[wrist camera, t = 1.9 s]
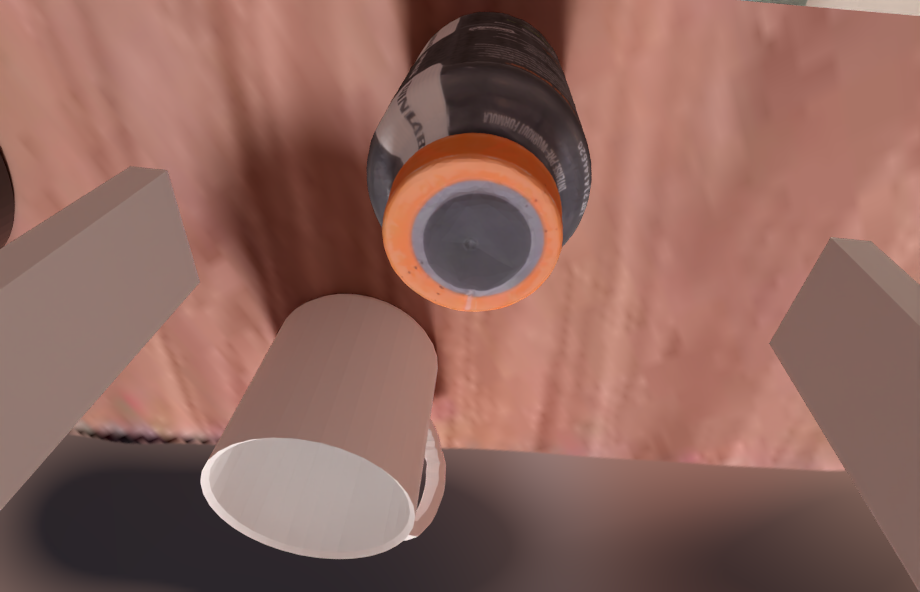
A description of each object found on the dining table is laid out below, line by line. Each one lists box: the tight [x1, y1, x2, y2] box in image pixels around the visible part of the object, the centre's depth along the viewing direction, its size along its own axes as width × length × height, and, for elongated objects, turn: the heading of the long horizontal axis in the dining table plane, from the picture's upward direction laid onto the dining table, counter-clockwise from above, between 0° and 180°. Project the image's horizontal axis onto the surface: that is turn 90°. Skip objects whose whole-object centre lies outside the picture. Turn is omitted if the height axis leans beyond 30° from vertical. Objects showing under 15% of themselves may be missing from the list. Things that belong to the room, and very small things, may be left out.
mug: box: [201, 294, 446, 559], centre depth 26 cm, size 12×9×9 cm
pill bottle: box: [367, 12, 591, 312], centre depth 15 cm, size 6×6×11 cm
